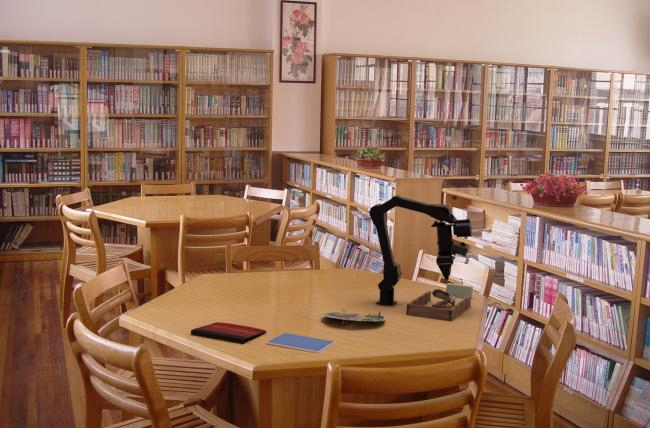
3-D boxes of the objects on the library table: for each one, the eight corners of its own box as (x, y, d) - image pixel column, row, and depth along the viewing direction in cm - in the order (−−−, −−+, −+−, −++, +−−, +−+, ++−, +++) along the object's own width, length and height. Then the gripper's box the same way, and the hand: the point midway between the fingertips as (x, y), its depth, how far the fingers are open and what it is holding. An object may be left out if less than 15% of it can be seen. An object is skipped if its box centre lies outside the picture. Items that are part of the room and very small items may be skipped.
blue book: (336, 344, 255) (336, 340, 255) (318, 355, 244) (318, 351, 244) (284, 336, 263) (284, 332, 263) (265, 345, 252) (265, 342, 252)
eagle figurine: (452, 300, 311) (430, 296, 310) (457, 288, 306) (435, 283, 306) (452, 314, 305) (430, 310, 305) (458, 302, 300) (435, 297, 300)
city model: (395, 322, 290) (395, 306, 290) (382, 331, 267) (383, 313, 267) (330, 317, 296) (330, 301, 296) (312, 326, 274) (313, 308, 274)
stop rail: (470, 299, 318) (471, 287, 318) (445, 295, 323) (446, 284, 322) (472, 298, 320) (472, 286, 320) (447, 294, 325) (447, 283, 324)
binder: (244, 338, 251) (190, 329, 260) (243, 345, 251) (190, 336, 261) (269, 328, 266) (217, 320, 275) (268, 335, 266) (217, 326, 275)
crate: (451, 321, 285) (451, 310, 284) (406, 314, 292) (406, 304, 292) (470, 306, 307) (471, 296, 306) (428, 300, 314) (428, 290, 314)
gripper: (464, 240, 288) (468, 282, 290) (467, 233, 306) (470, 272, 308) (434, 242, 291) (437, 283, 292) (438, 234, 309) (441, 273, 310)
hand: (447, 278), depth 300 cm, fingers open, 9 cm apart
